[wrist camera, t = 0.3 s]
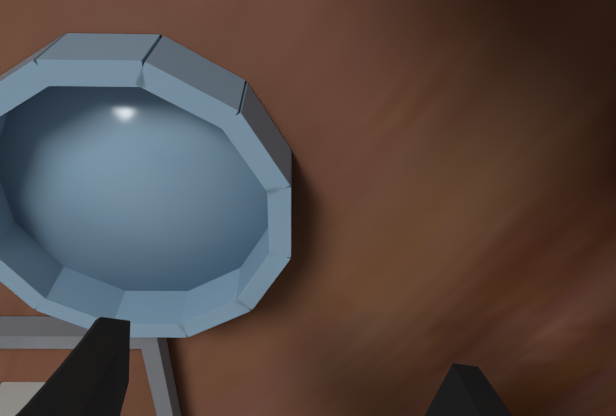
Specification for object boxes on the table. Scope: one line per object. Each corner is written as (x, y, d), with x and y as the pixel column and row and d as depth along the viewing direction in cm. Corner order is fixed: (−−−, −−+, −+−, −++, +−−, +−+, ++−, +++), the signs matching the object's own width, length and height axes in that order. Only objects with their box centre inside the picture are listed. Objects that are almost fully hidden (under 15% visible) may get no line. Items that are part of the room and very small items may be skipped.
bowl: (291, 295, 24) (291, 337, 22) (31, 294, 24) (6, 337, 22) (291, 36, 18) (291, 62, 16) (-67, 31, 17) (-117, 57, 15)
